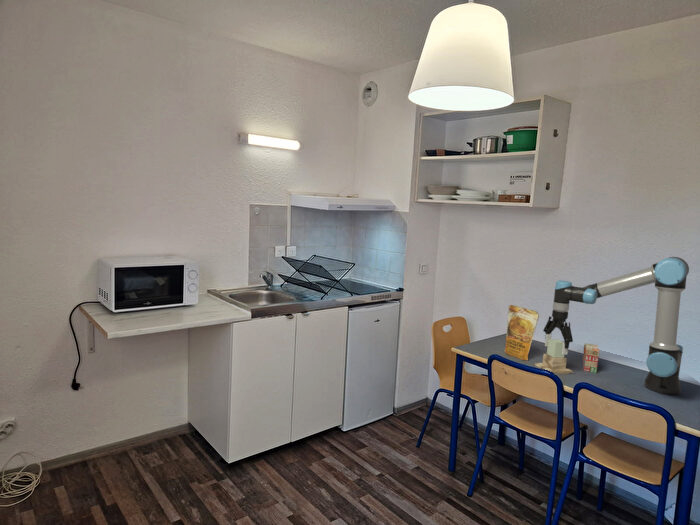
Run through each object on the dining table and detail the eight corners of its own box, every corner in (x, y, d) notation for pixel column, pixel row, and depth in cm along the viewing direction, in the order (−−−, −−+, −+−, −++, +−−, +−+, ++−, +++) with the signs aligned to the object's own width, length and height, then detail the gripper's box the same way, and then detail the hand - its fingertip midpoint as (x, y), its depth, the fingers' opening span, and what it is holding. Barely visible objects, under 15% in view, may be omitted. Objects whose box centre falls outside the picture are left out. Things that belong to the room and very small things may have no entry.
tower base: (573, 373, 247) (574, 359, 246) (551, 374, 244) (553, 360, 243) (555, 364, 260) (557, 351, 259) (534, 365, 257) (536, 351, 256)
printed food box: (582, 360, 272) (584, 339, 270) (594, 362, 269) (597, 340, 268) (583, 371, 252) (586, 348, 251) (596, 373, 250) (599, 350, 248)
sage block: (564, 357, 249) (565, 342, 248) (554, 357, 247) (555, 342, 246) (556, 353, 255) (558, 339, 254) (546, 354, 253) (548, 339, 252)
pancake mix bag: (507, 350, 281) (512, 303, 278) (534, 360, 265) (540, 311, 261) (499, 351, 278) (504, 304, 274) (526, 362, 261) (532, 312, 258)
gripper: (583, 316, 237) (578, 357, 240) (551, 305, 261) (546, 342, 264) (570, 316, 235) (565, 357, 238) (539, 305, 259) (535, 343, 262)
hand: (555, 350), depth 251 cm, fingers open, 13 cm apart
